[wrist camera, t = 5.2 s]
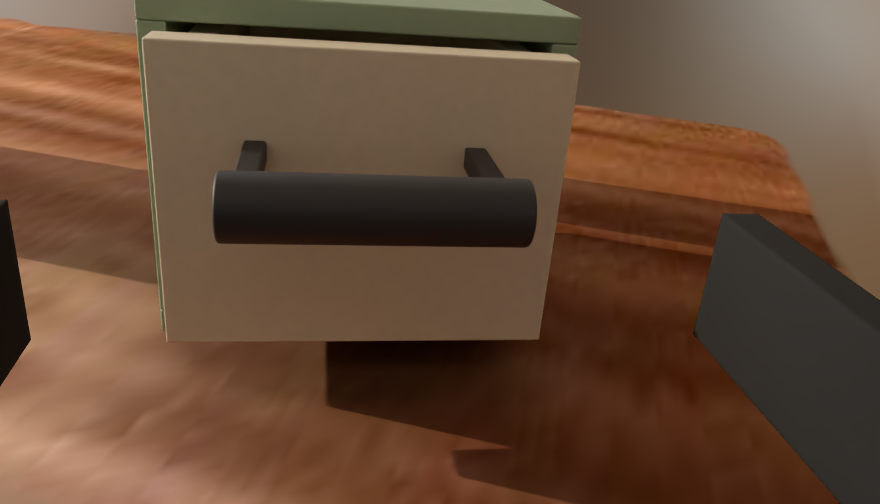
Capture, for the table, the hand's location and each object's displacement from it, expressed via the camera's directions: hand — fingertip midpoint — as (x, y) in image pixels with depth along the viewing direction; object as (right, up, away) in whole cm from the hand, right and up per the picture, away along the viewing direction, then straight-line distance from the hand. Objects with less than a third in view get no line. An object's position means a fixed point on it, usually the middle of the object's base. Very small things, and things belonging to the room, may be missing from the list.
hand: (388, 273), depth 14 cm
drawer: (-2, -1, +13) cm, 13 cm away
